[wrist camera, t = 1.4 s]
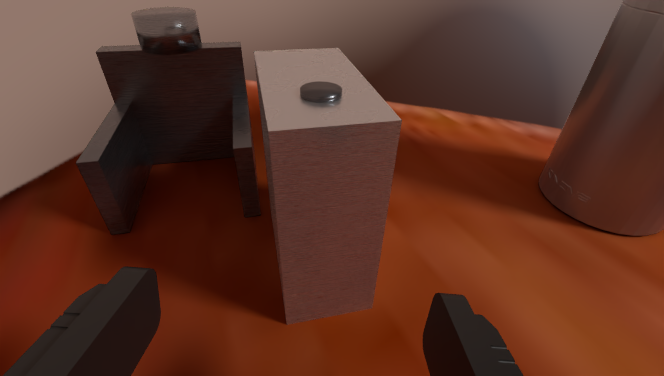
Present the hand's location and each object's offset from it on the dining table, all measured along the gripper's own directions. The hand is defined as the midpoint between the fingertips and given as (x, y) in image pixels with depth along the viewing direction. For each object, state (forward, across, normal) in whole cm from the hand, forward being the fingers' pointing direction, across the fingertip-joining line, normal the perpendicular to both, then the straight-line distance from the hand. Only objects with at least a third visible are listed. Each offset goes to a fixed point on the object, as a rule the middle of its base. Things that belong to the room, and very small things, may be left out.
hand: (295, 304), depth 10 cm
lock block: (+12, -1, +6) cm, 14 cm away
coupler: (+20, +10, +5) cm, 23 cm away
